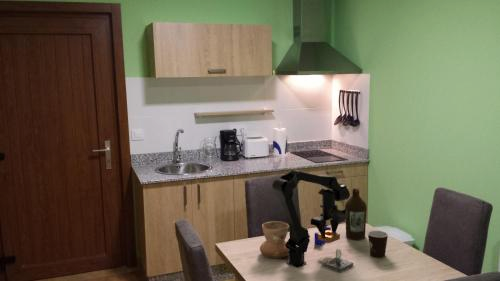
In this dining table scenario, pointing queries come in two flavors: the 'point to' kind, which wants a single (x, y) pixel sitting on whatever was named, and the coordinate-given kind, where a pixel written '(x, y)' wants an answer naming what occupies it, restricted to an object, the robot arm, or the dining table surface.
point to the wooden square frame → (329, 236)
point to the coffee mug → (377, 243)
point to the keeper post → (338, 263)
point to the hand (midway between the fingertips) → (328, 236)
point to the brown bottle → (356, 216)
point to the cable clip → (320, 242)
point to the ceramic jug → (275, 239)
